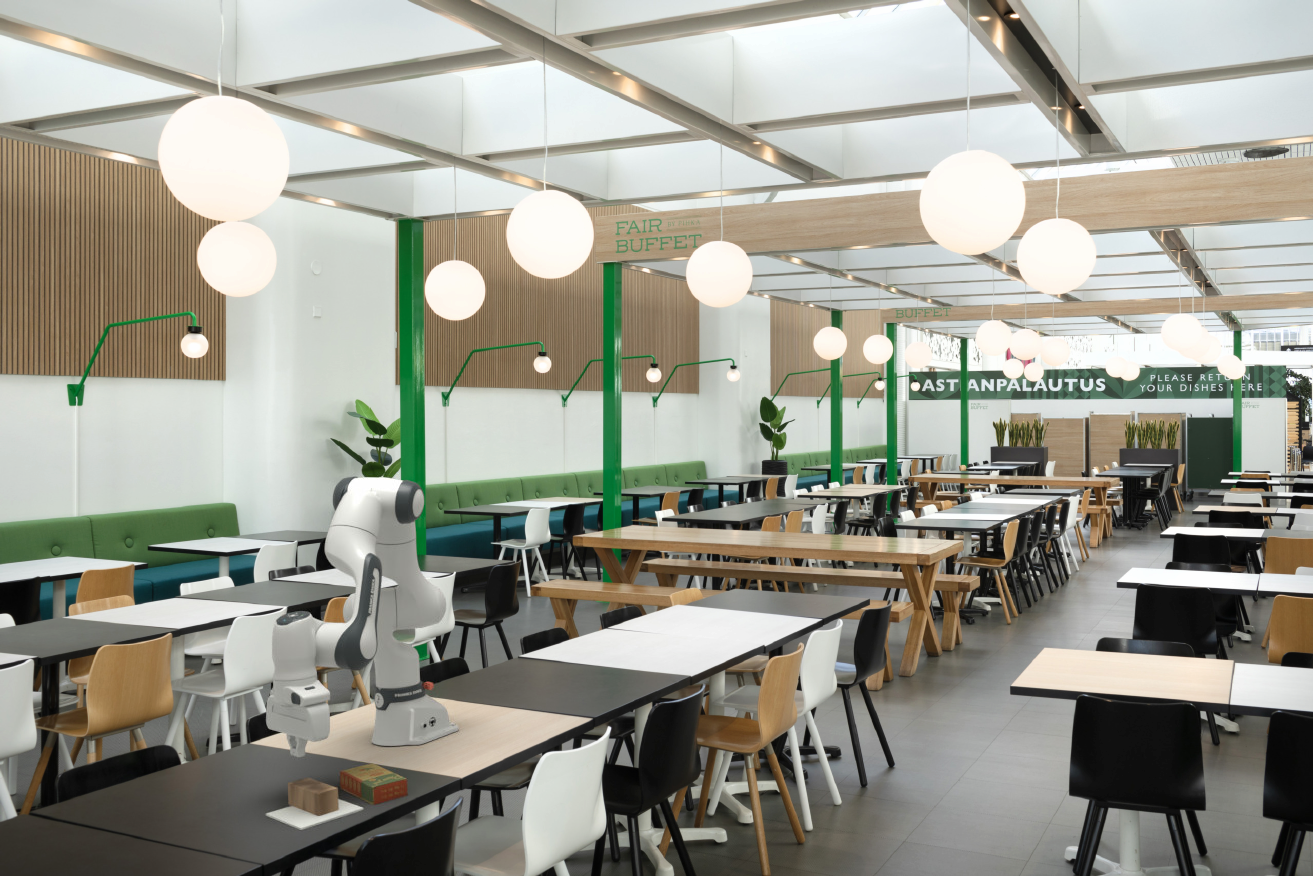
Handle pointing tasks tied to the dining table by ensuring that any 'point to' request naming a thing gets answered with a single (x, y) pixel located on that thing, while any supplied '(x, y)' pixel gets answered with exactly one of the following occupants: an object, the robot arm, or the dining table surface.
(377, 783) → the carton
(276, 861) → the dining table surface
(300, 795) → the block
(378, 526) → the robot arm
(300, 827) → the mat
